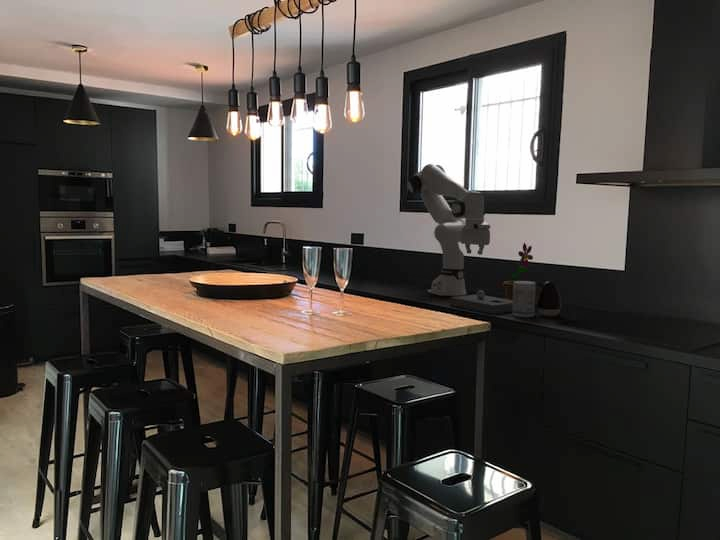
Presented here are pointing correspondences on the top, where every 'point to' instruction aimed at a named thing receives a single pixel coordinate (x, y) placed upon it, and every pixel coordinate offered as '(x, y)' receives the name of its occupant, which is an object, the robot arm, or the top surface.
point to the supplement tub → (524, 298)
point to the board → (483, 303)
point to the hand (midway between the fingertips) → (474, 254)
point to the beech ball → (480, 294)
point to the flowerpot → (509, 284)
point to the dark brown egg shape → (549, 299)
